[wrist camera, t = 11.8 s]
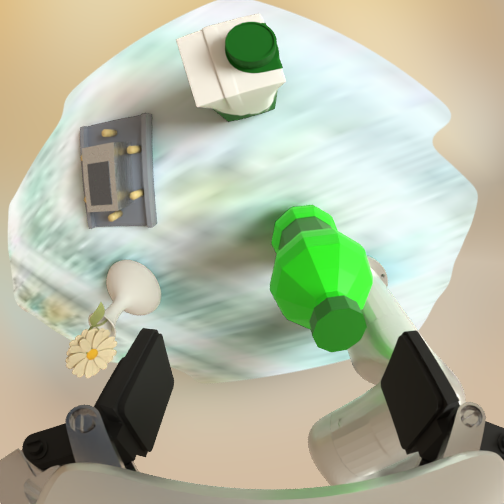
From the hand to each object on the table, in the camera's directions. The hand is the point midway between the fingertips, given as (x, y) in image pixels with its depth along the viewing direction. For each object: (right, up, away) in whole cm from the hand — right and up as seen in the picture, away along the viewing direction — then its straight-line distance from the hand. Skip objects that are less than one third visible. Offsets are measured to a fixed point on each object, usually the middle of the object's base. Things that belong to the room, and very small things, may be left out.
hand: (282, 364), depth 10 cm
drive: (-23, +17, +29) cm, 41 cm away
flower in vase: (-22, -1, +38) cm, 44 cm away
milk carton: (-2, +27, +25) cm, 37 cm away
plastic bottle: (+7, +8, +33) cm, 34 cm away
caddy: (-23, +17, +30) cm, 42 cm away
